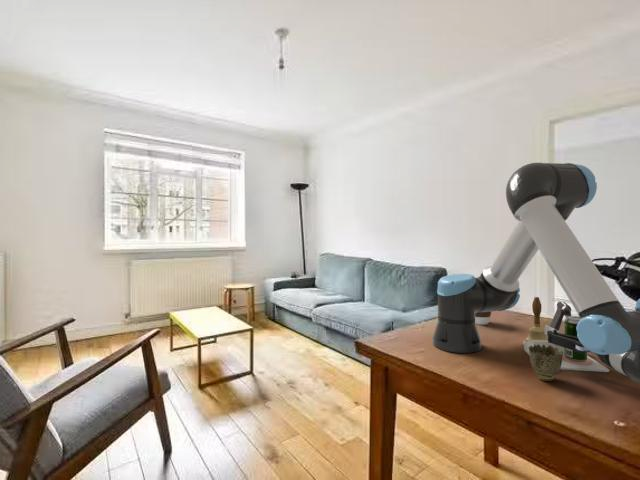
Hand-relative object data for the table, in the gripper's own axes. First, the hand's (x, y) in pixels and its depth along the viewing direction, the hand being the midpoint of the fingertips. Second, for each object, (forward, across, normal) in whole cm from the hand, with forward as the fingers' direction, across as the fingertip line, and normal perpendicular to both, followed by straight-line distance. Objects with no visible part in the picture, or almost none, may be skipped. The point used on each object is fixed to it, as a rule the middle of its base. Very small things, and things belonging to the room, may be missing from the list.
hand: (570, 329), depth 102 cm
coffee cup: (+37, -14, -9) cm, 40 cm away
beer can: (-3, 0, -8) cm, 8 cm away
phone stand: (+20, +9, -9) cm, 24 cm away
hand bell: (+11, -4, -9) cm, 15 cm away
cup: (-15, -14, -9) cm, 23 cm away
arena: (-2, -3, -8) cm, 9 cm away
